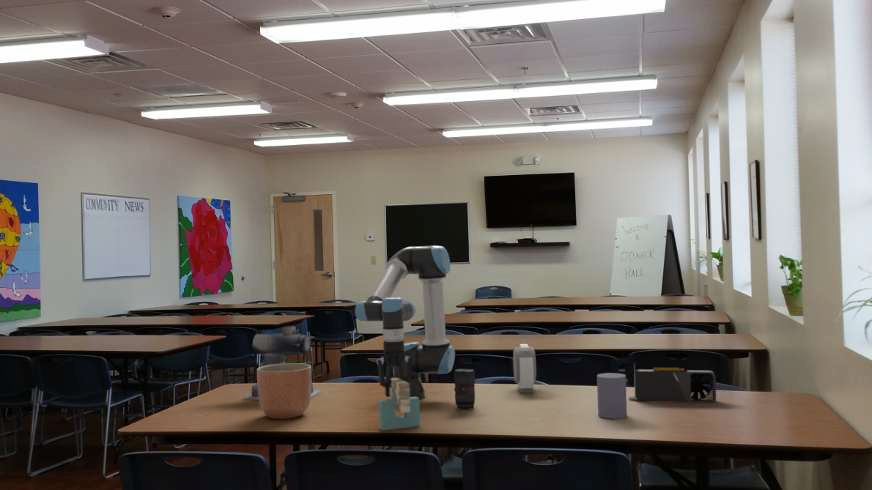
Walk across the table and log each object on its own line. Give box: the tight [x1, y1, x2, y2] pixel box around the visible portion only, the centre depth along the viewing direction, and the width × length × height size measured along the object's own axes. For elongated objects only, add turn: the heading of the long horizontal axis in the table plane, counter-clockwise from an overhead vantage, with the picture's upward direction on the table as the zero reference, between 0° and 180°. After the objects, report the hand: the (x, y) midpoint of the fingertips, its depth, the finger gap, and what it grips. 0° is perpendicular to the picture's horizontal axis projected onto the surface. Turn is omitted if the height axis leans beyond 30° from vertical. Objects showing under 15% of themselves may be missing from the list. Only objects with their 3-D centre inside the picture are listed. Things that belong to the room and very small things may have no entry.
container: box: [596, 372, 628, 420], centre depth 275 cm, size 10×10×15 cm
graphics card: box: [628, 362, 717, 404], centre depth 298 cm, size 33×5×14 cm, turn 76°
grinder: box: [241, 326, 323, 401], centre depth 333 cm, size 18×31×31 cm, turn 79°
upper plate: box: [390, 377, 410, 414], centre depth 267 cm, size 14×3×10 cm, turn 21°
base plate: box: [378, 397, 421, 431], centre depth 267 cm, size 14×3×10 cm, turn 111°
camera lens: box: [453, 368, 476, 410], centre depth 296 cm, size 8×8×15 cm
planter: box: [256, 362, 312, 420], centre depth 291 cm, size 21×21×19 cm
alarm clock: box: [512, 343, 537, 394], centre depth 329 cm, size 18×8×20 cm, turn 179°
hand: (395, 404), depth 271 cm, fingers closed on upper plate, 3 cm apart
